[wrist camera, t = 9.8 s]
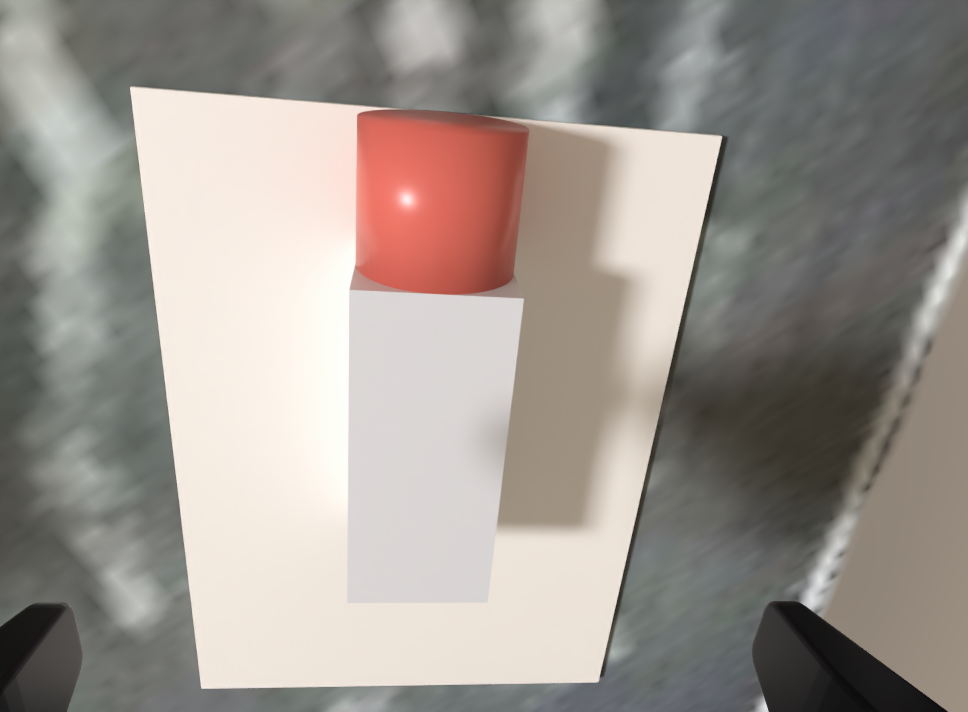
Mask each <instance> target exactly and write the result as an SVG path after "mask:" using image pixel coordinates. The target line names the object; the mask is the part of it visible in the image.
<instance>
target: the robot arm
mask: <svg viewBox="0 0 968 712" xmlns="http://www.w3.org/2000/svg"><path fill="white" fill-rule="evenodd" d="M752 658H753V663H754V666H755V669H756V673H757V676H758V679H759V682H760V685H761V688H762V692H763V695H764V698H765V701H766V704H767V707H768V711H769V712H948V711H946V710H945V709H944V708H942V707H941V706H939V705H938V704H937V703H936V702H934V701H933V700H931V699H930V698H929V697H927V696H926V695H925V694H923V693H922V692H921V691H919V690H918V689H916V688H915V687H914V686H913V685H911V684H910V683H909V682H907V681H906V680H904V679H903V678H902V677H900V676H899V675H898V674H896V673H895V672H894V671H892V670H891V669H890V668H888V667H887V666H886V665H884V664H883V663H882V662H880V661H879V660H877V659H876V658H875V657H873V656H872V655H871V654H869V653H868V652H867V651H865V650H864V649H863V648H861V647H860V646H859V645H857V644H856V643H854V642H853V641H852V640H850V639H849V638H848V637H846V636H845V635H844V634H842V633H841V632H840V631H838V630H837V629H835V628H834V627H833V626H831V625H830V624H829V623H827V622H826V621H825V620H823V619H822V618H821V617H819V616H818V615H817V614H815V613H814V612H813V611H811V610H810V609H809V608H807V607H806V606H804V605H803V604H801V603H799V602H795V601H773V602H770V603H769V604H768V605H767V606H766V607H765V609H764V612H763V615H762V617H761V620H760V623H759V626H758V629H757V632H756V634H755V637H754V640H753V644H752ZM82 660H83V650H82V645H81V640H80V635H79V631H78V626H77V622H76V617H75V612H74V610H73V608H72V606H71V605H70V604H67V603H35V604H32V605H30V606H28V607H27V608H25V609H24V610H23V611H21V612H20V613H19V614H17V615H16V616H14V617H13V618H12V619H10V620H9V621H8V622H6V623H5V624H4V625H2V626H1V627H0V712H67V709H68V706H69V703H70V700H71V697H72V694H73V691H74V688H75V685H76V683H77V680H78V677H79V674H80V670H81V666H82Z"/></svg>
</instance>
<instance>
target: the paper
mask: <svg viewBox="0 0 968 712" xmlns="http://www.w3.org/2000/svg"><path fill="white" fill-rule="evenodd" d="M130 90H131V99H132V107H133V115H134V124H135V132H136V141H137V149H138V158H139V166H140V174H141V183H142V191H143V200H144V208H145V217H146V225H147V233H148V242H149V250H150V259H151V267H152V276H153V284H154V292H155V301H156V309H157V318H158V326H159V335H160V343H161V352H162V360H163V368H164V377H165V385H166V394H167V402H168V411H169V419H170V427H171V436H172V444H173V453H174V461H175V470H176V478H177V486H178V495H179V503H180V512H181V520H182V529H183V537H184V545H185V554H186V562H187V571H188V579H189V588H190V596H191V604H192V613H193V621H194V630H195V638H196V647H197V655H198V664H199V672H200V680H201V689H212V688H274V687H336V686H398V685H460V684H523V683H585V682H599V677H600V673H601V668H602V664H603V660H604V655H605V651H606V646H607V642H608V638H609V633H610V629H611V624H612V620H613V616H614V611H615V607H616V602H617V598H618V594H619V589H620V585H621V580H622V576H623V572H624V567H625V563H626V558H627V554H628V550H629V545H630V541H631V536H632V532H633V527H634V523H635V519H636V514H637V510H638V505H639V501H640V497H641V492H642V488H643V483H644V479H645V475H646V470H647V466H648V461H649V457H650V453H651V448H652V444H653V439H654V435H655V431H656V426H657V422H658V417H659V413H660V409H661V404H662V400H663V395H664V391H665V387H666V382H667V378H668V373H669V369H670V365H671V360H672V356H673V351H674V347H675V343H676V338H677V334H678V329H679V325H680V321H681V316H682V312H683V307H684V303H685V299H686V294H687V290H688V285H689V281H690V276H691V272H692V268H693V263H694V259H695V254H696V250H697V246H698V241H699V237H700V232H701V228H702V224H703V219H704V215H705V210H706V206H707V202H708V197H709V193H710V188H711V184H712V180H713V175H714V171H715V166H716V162H717V158H718V153H719V149H720V144H721V140H722V136H720V135H712V134H700V133H689V132H677V131H665V130H653V129H641V128H629V127H617V126H605V125H593V124H581V123H569V122H557V121H545V120H533V119H521V118H509V117H497V116H485V115H478V116H485V117H491V118H496V119H501V120H506V121H510V122H514V123H518V124H521V125H523V126H526V127H527V128H529V130H530V132H529V140H528V149H527V158H526V167H525V176H524V185H523V194H522V203H521V212H520V221H519V230H518V239H517V248H516V257H515V266H514V275H515V277H516V280H517V282H518V285H519V287H520V290H521V292H522V295H523V297H524V303H523V312H522V320H521V328H520V337H519V345H518V353H517V362H516V370H515V378H514V386H513V395H512V403H511V411H510V420H509V428H508V436H507V445H506V453H505V461H504V470H503V478H502V486H501V495H500V503H499V511H498V520H497V528H496V536H495V545H494V553H493V561H492V569H491V578H490V586H489V594H488V603H347V561H348V397H349V288H350V284H351V280H352V275H353V271H354V267H355V263H356V170H357V114H358V113H361V112H365V111H371V110H388V109H401V108H390V107H378V106H366V105H354V104H342V103H330V102H318V101H306V100H294V99H282V98H270V97H258V96H246V95H234V94H222V93H210V92H198V91H186V90H174V89H162V88H150V87H138V86H132V87H130ZM405 110H413V109H405ZM471 115H473V114H471Z"/></svg>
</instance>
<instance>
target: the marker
mask: <svg viewBox="0 0 968 712" xmlns="http://www.w3.org/2000/svg"><path fill="white" fill-rule="evenodd" d="M529 132H530V130H529V128H527V127H526V126H523V125H521V124H518V123H514V122H510V121H506V120H501V119H496V118H491V117H485V116H478V115H471V114H462V113H453V112H442V111H429V110H405V109H388V110H371V111H365V112H361V113H358V114H357V170H356V263H355V267H354V271H353V275H352V280H351V284H350V288H349V397H348V561H347V603H488V594H489V586H490V578H491V569H492V561H493V553H494V545H495V536H496V528H497V520H498V511H499V503H500V495H501V486H502V478H503V470H504V461H505V453H506V445H507V436H508V428H509V420H510V411H511V403H512V395H513V386H514V378H515V370H516V362H517V353H518V345H519V337H520V328H521V320H522V312H523V303H524V297H523V295H522V292H521V290H520V287H519V285H518V282H517V280H516V277H515V275H514V266H515V257H516V248H517V239H518V230H519V221H520V212H521V203H522V194H523V185H524V176H525V167H526V158H527V149H528V140H529Z"/></svg>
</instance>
